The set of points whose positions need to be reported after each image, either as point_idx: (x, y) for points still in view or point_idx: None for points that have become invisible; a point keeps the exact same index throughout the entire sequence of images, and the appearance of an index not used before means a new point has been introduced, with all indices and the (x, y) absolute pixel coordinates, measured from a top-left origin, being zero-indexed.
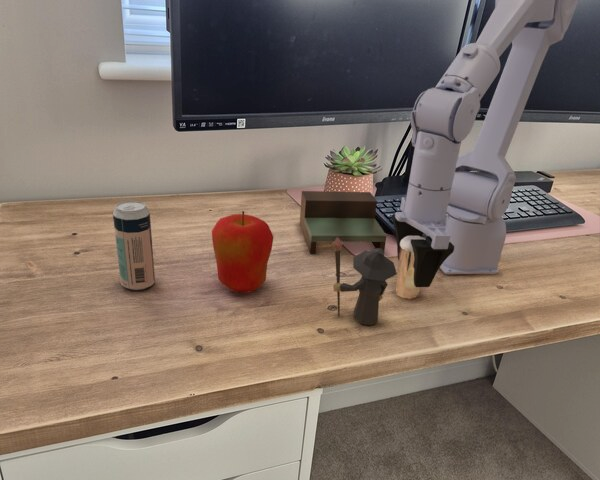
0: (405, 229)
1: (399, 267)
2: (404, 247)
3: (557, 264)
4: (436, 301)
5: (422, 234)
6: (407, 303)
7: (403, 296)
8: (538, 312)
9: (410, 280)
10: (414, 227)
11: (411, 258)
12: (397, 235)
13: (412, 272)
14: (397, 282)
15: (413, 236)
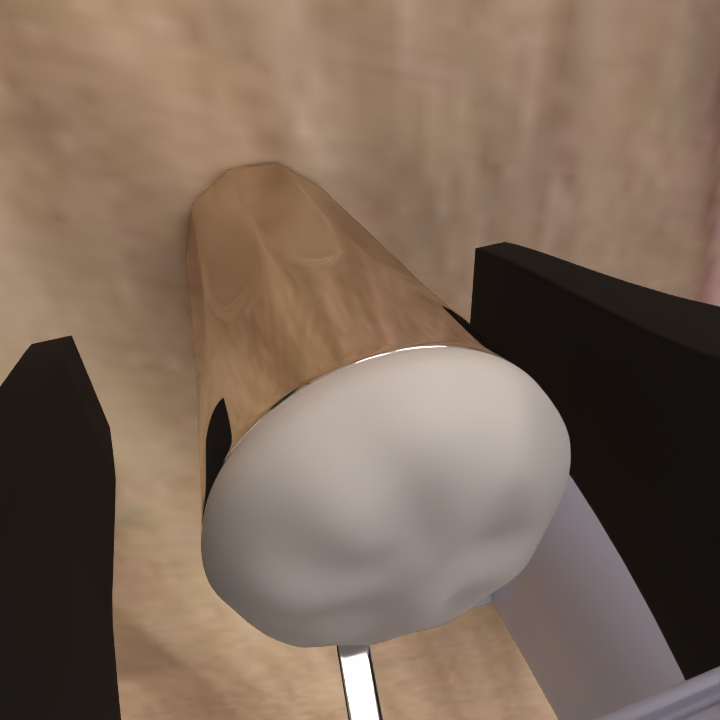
0: (705, 451)
1: (303, 246)
2: (296, 414)
3: (513, 701)
4: (194, 393)
5: (614, 543)
6: (123, 226)
7: (193, 210)
8: (180, 703)
9: (196, 305)
10: (692, 544)
11: (204, 424)
12: (686, 327)
13: (198, 353)
14: (278, 191)
15: (517, 530)
